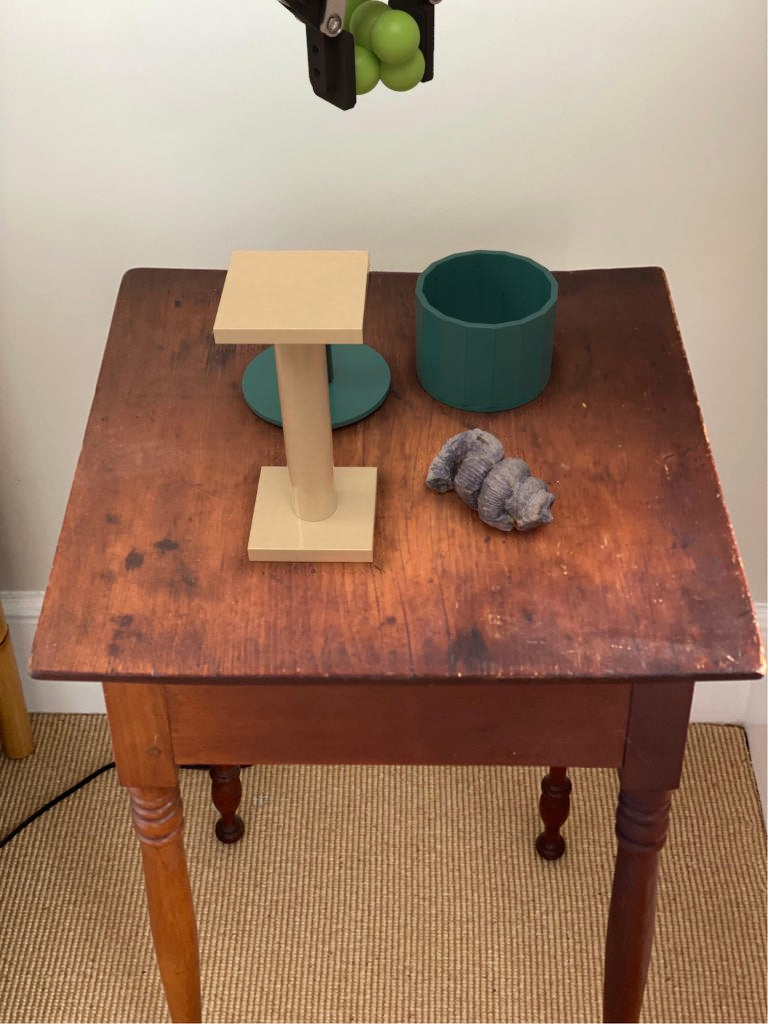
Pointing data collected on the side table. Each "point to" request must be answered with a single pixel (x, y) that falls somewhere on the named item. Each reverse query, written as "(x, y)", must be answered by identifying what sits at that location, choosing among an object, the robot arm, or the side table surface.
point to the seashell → (491, 482)
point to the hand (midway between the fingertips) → (373, 84)
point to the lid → (351, 379)
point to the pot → (485, 329)
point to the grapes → (384, 46)
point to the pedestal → (303, 399)
